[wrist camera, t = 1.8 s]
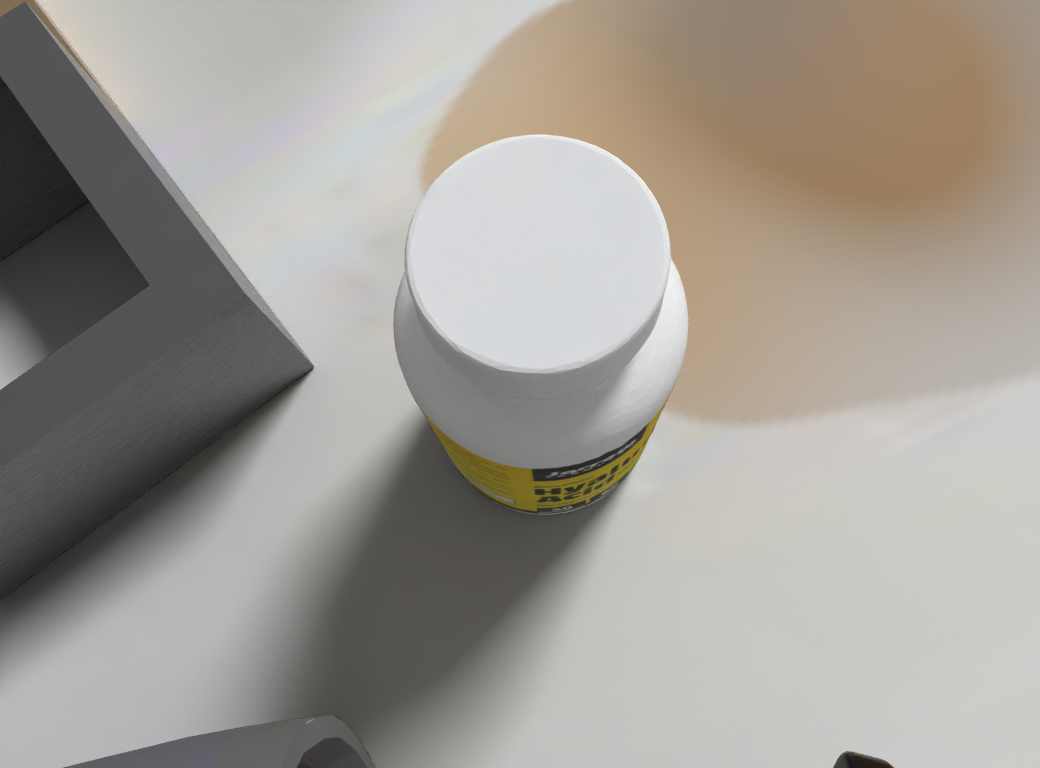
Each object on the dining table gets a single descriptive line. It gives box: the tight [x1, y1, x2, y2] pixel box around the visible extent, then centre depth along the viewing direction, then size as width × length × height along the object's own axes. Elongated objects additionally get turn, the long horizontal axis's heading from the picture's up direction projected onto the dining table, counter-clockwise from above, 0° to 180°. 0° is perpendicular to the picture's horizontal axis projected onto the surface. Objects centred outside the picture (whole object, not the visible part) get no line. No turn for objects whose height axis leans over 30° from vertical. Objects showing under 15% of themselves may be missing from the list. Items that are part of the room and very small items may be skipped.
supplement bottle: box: [394, 134, 688, 515], centre depth 17 cm, size 5×5×10 cm
